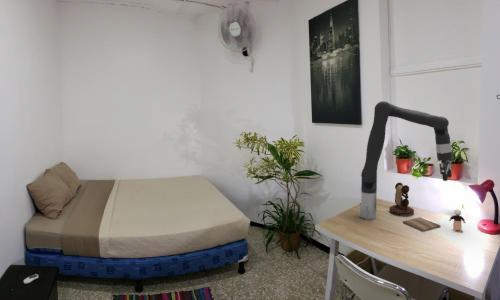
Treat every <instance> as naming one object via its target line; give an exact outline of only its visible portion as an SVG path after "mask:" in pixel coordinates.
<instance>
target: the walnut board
mask: <svg viewBox="0 0 500 300" xmlns="http://www.w3.org/2000/svg"><path fill="white" fill-rule="evenodd" d="M402 224H404V225H406V226H409V227H410V228H413V229H416V230H418V231H420V232H422V233H423V232H428V231H432V230H436V229H439V228H441V224H438V223H435V222H433V221H430V220H428V219H425V218H423V217H420V216H419V217H416V218H411V219H407V220H402Z"/></svg>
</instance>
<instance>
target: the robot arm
mask: <svg viewBox="0 0 500 300" xmlns="http://www.w3.org/2000/svg"><path fill="white" fill-rule="evenodd" d="M373 114H374V115H373V122H372V127H371V128H370V129H371V130H370V132H369V135H368V139H367V145H366V153H365V154H366V155H365V162H364V166H363V169H362V170H361V174H360V176H361V187H360V189H361V190H360V194H361V195H360V202H359V217H361V218H362V219H364V220H375V219H376V218H377V197H378V196H377V192H378V191H377V189H378V188H377V187H378V185H377V184H378V182H377V181H378V166H379V161H380V158H381V156H382V153H383V148H384V145H385V138H386V128H387V123H388V121H389V120H388V119H389V117H394V118H397V119H398V118H399V119H402V120H404V121H407V122H410V123H414V124H417V125H422V126H426V127H429V128H433V131H434V137H435V138H434V140H435V152H436V159H437V160H438V161H440V162H441V163H439V172H440V175H441V177H442V181H444V182H447V181H448V178H452V171H453V164H452V160H453V159H454V157H453V156H454V155H453V148H452V144H451V137H450V134H449V128H448V127H449V124H450V122H449V120H448V118H446V117H444V116H439V115H433V114H430V113H428V112H423V111H419V110H415V109H411V108H410V109H409V108H404V107H399V106H396V105H394V104H391V103H389V102H388V101H386V100H385V101H383V100H382V101H379V102H378V103H376V104H375V105H374V113H373Z"/></svg>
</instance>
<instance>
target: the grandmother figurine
mask: <svg viewBox="0 0 500 300" xmlns="http://www.w3.org/2000/svg"><path fill="white" fill-rule="evenodd" d="M453 213H454V215H451V216H450V218H449V219H448V221H449V222H451V221H452V220H453V228H452V231H454V232H460V233H462V232H463V227H462V225H463V224H466V221H465V220H466V219H465V218H464V217H463V216H462V215H461V214H462V210H461V209H457V208H456V209H455V210H454V211H453ZM462 222H463V224H462Z"/></svg>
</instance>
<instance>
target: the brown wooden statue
mask: <svg viewBox="0 0 500 300" xmlns="http://www.w3.org/2000/svg"><path fill="white" fill-rule="evenodd" d="M394 189H395V192H394V193H395V194H394V203H395V204H394V205H391V206H389V207H388V209H389V211H390V212H391V213H393V214H397V215H398V217H400V216H401V215H403V216H405V215H406V216H407V215H409V216H410V215H414V213H415V209H414V208H413V207H411V206H409V204H410V201H409V194H408V193H409V192H410V186H409V185H407V184H405V185H404V184H403V183H402V182H397V183H396V184H395V185H394Z"/></svg>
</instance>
